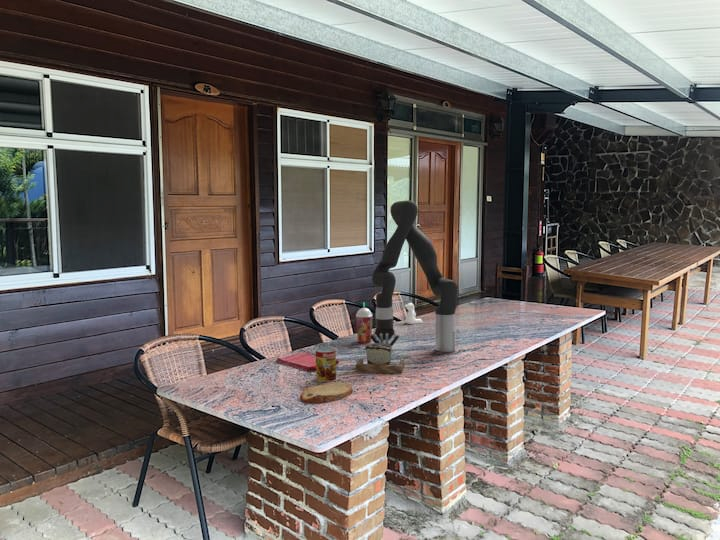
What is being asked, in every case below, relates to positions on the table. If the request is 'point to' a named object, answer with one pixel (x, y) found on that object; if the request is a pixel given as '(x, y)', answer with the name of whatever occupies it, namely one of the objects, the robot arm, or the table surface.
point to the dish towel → (300, 361)
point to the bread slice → (326, 393)
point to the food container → (378, 353)
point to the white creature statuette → (411, 315)
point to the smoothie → (364, 324)
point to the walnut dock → (379, 367)
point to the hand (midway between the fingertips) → (385, 356)
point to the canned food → (325, 364)
